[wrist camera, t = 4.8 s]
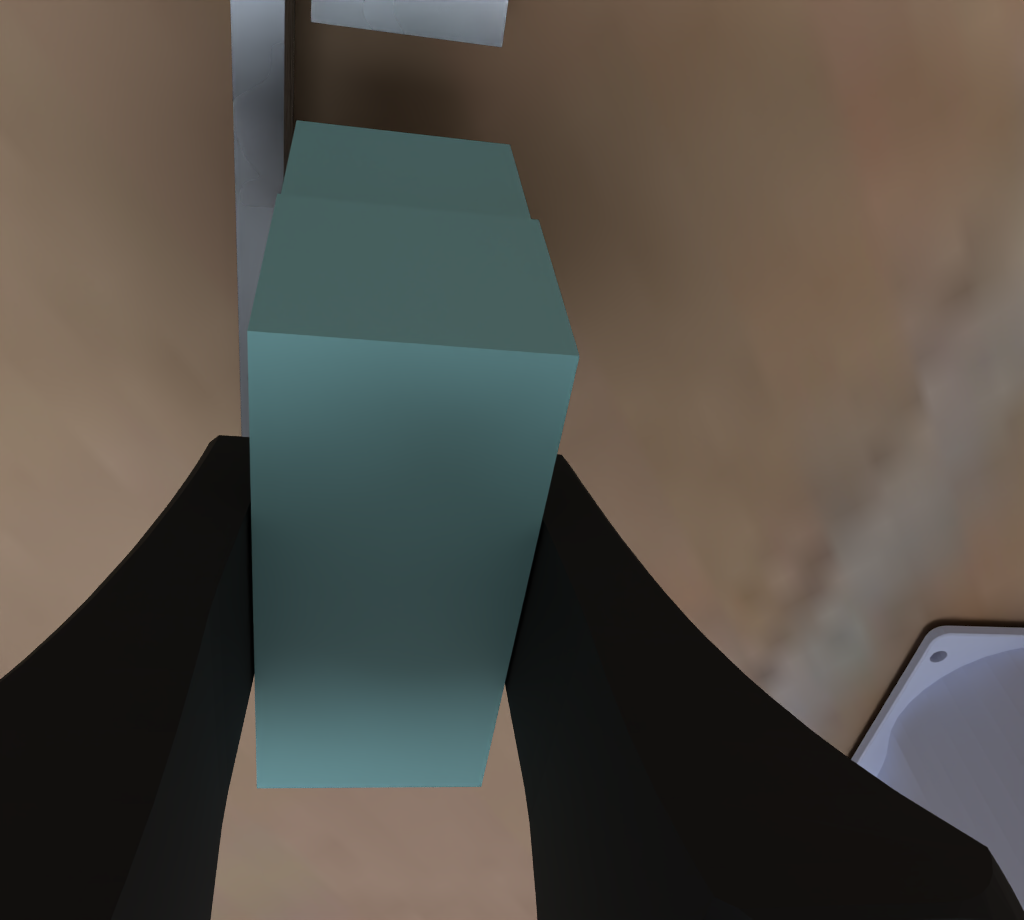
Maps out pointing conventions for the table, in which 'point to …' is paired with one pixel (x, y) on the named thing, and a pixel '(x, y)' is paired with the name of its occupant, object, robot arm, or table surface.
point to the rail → (270, 104)
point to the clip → (396, 454)
